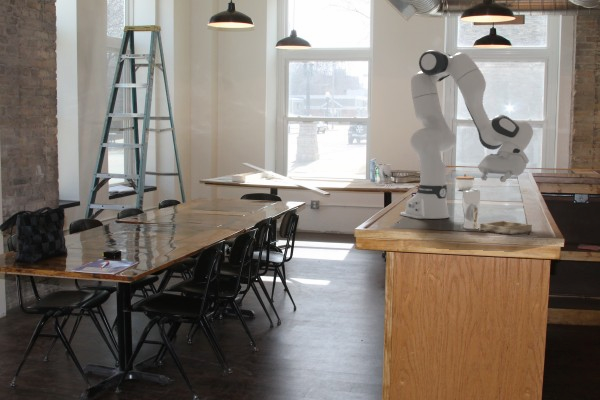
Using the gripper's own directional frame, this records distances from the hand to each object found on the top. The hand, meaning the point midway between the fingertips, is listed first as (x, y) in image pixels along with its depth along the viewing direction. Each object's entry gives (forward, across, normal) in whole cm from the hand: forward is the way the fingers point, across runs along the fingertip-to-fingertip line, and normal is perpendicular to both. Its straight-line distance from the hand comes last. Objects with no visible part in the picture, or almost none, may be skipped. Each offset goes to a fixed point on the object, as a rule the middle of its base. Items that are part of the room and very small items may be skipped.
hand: (492, 180), depth 300 cm
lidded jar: (-58, -102, +84) cm, 144 cm away
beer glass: (+22, 0, +4) cm, 22 cm away
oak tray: (+18, +13, +8) cm, 24 cm away
